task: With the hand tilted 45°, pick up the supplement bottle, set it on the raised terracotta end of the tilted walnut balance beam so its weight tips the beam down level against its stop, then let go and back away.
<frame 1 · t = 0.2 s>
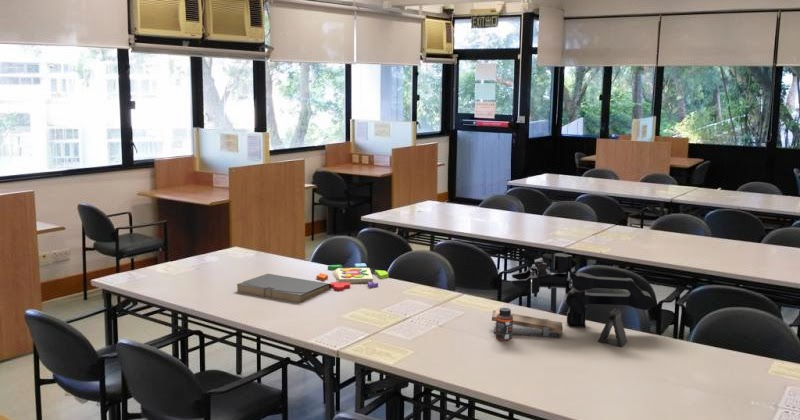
hand: (512, 279, 284), 17 cm above the table, tool horizontal, fingers open, 9 cm apart
beam stand: (545, 332, 274), on the table
grey a-frame stand: (612, 343, 265), on the table
supplement bottle: (503, 339, 266), on the table
pattern blocks set: (352, 278, 344), on the table
file folder: (284, 291, 321), on the table
balance beam: (527, 321, 274), point 4 cm above the table, hinge at -6.0°
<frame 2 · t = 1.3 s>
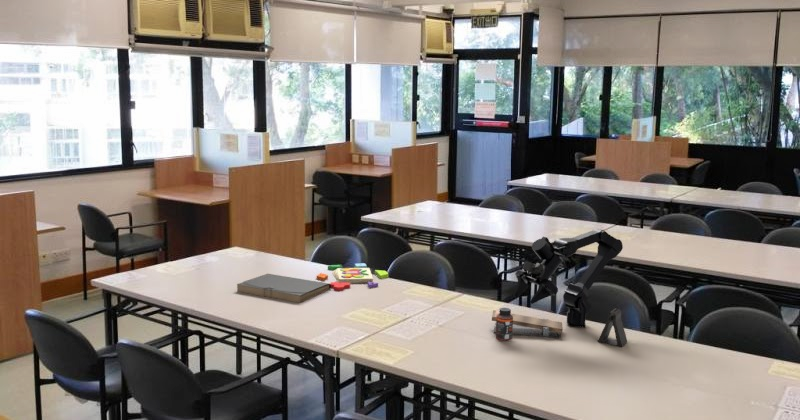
hand: (522, 299, 267), 14 cm above the table, tool tilted 45°, fingers open, 9 cm apart
nothing on the table moved.
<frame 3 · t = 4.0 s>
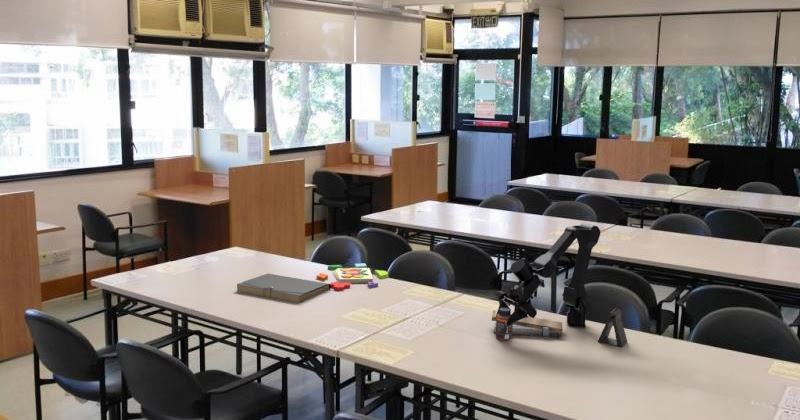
hand: (501, 322, 264), 7 cm above the table, tool tilted 45°, fingers closed on supplement bottle, 6 cm apart
supplement bottle: (503, 339, 266), on the table, touching gripper
everything else where it was.
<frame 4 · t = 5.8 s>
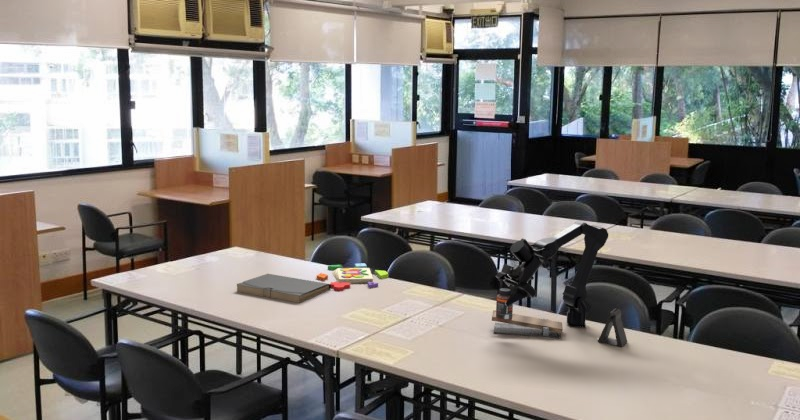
hand: (501, 302, 265), 13 cm above the table, tool tilted 45°, fingers closed on supplement bottle, 6 cm apart
supplement bottle: (504, 319, 267), point 6 cm above the table, touching gripper
everything else where it was.
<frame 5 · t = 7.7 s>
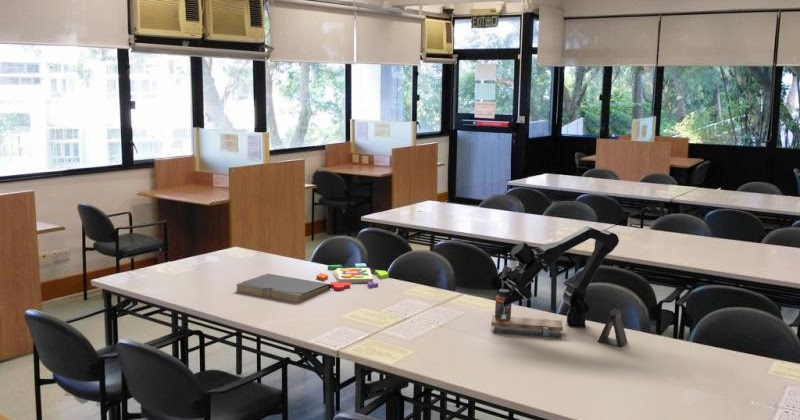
hand: (500, 302, 274), 10 cm above the table, tool tilted 45°, fingers closed on supplement bottle, 6 cm apart
supplement bottle: (502, 319, 276), point 4 cm above the table, touching balance beam, gripper
balance beam: (526, 323, 274), point 3 cm above the table, hinge at 0.1°, touching supplement bottle
everything else where it was.
when the fingers open (10 cm above the table, at t = 7.9 s): supplement bottle stays where it is, resting on balance beam.
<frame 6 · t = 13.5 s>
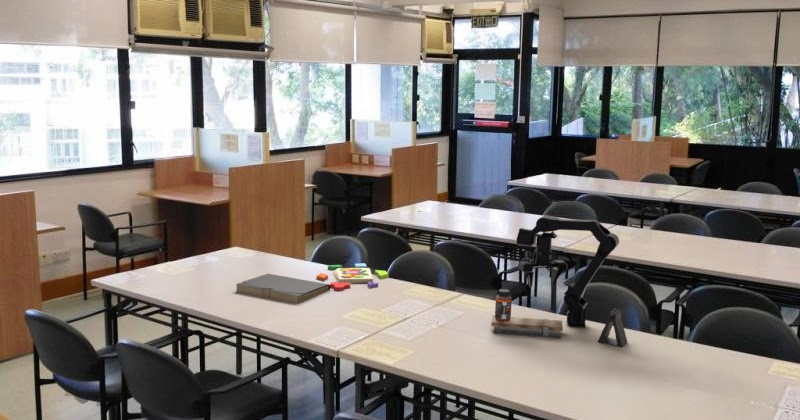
hand: (541, 287, 287), 13 cm above the table, tool pointing down, fingers open, 9 cm apart
supplement bottle: (502, 319, 276), point 4 cm above the table, touching balance beam
everything else where it was.
at the end: balance beam at +0° (first picture: -6°); supplement bottle inside the target area on the balance beam (0.1 cm from its centre), point 0.6 cm above the balance beam's base; supplement bottle tilted 0° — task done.
